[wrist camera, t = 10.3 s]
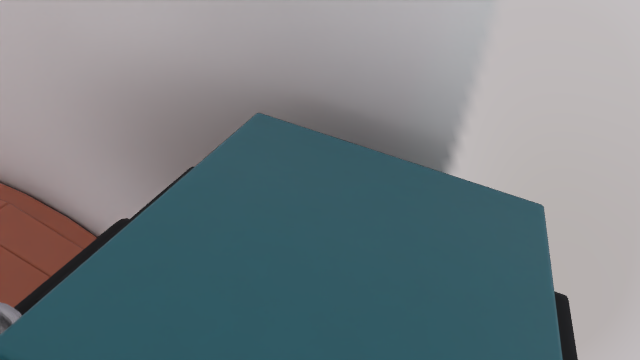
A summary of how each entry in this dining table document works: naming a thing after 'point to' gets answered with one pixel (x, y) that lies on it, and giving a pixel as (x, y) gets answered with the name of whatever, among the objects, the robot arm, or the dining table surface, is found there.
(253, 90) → the dining table surface
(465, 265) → the block
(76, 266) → the robot arm
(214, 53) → the dining table surface
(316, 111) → the dining table surface
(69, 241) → the bowl
